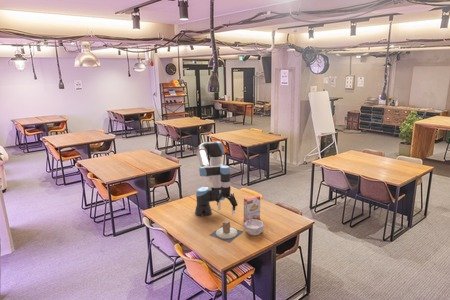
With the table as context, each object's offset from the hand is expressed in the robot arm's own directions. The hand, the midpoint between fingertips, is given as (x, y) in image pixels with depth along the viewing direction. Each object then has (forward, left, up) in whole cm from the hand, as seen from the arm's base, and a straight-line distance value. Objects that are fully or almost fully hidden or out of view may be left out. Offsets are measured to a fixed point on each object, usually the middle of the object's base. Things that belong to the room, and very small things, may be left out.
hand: (226, 211), depth 241 cm
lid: (0, 0, -19) cm, 19 cm away
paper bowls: (+17, +14, -19) cm, 29 cm away
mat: (0, 0, -19) cm, 19 cm away
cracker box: (+4, +32, -19) cm, 38 cm away
